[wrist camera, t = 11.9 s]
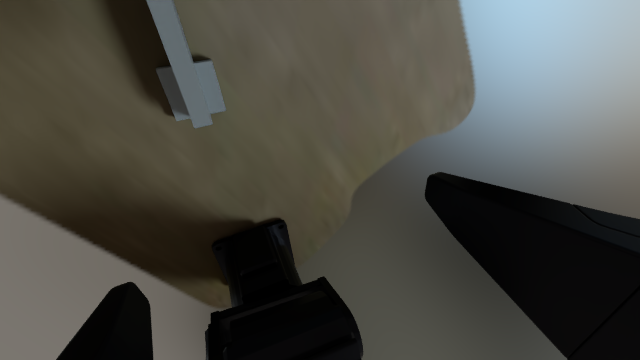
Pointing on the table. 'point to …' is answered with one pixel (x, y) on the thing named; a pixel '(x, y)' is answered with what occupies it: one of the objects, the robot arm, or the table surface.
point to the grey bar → (185, 71)
